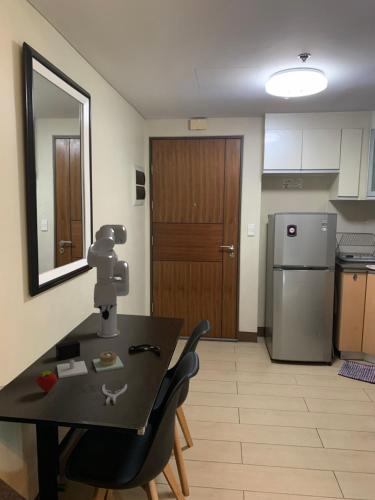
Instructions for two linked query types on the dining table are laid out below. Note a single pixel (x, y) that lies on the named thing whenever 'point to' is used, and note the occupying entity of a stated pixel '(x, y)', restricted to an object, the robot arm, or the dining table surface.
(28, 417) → the dining table surface
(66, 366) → the stand
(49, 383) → the strawberry
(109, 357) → the collar
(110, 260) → the robot arm
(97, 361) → the plate
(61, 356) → the digital camera
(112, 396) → the pliers
